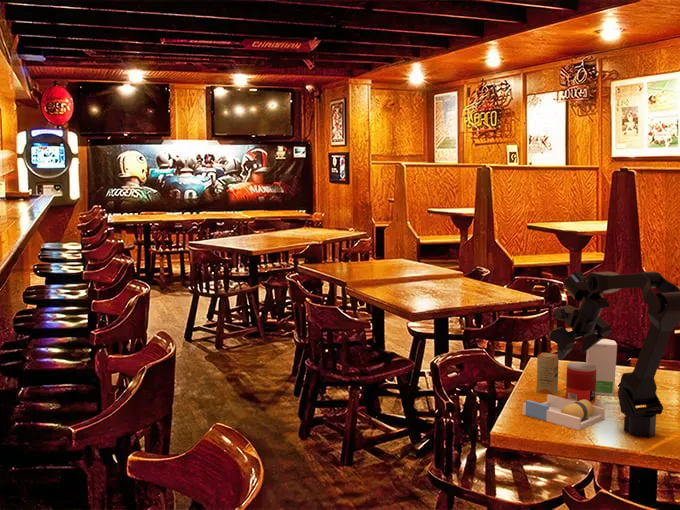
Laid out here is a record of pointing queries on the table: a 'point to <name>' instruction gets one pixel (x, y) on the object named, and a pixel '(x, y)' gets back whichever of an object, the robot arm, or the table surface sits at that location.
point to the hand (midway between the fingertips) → (571, 355)
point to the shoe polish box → (547, 373)
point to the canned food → (581, 381)
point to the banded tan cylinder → (579, 409)
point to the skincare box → (603, 365)
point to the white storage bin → (553, 414)
